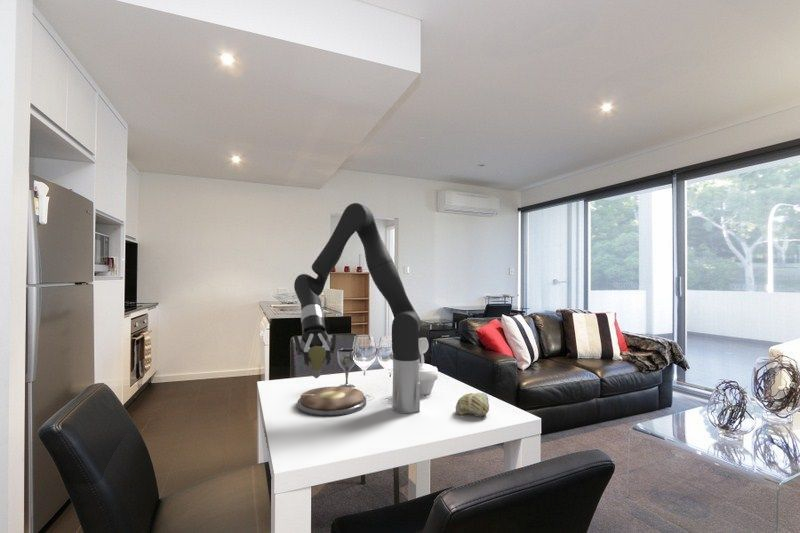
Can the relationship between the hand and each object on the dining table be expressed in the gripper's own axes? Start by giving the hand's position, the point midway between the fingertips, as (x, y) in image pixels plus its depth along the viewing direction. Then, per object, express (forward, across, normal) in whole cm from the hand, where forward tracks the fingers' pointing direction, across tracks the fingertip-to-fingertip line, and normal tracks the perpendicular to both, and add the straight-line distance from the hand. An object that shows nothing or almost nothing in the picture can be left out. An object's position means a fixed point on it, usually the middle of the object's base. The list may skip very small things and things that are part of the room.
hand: (317, 363), depth 118 cm
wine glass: (-12, +18, +38) cm, 43 cm away
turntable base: (+2, +8, +24) cm, 25 cm away
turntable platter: (+1, +8, +23) cm, 24 cm away
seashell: (+20, +50, +6) cm, 54 cm away
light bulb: (+2, 0, +5) cm, 5 cm away
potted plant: (+1, +44, +25) cm, 51 cm away
